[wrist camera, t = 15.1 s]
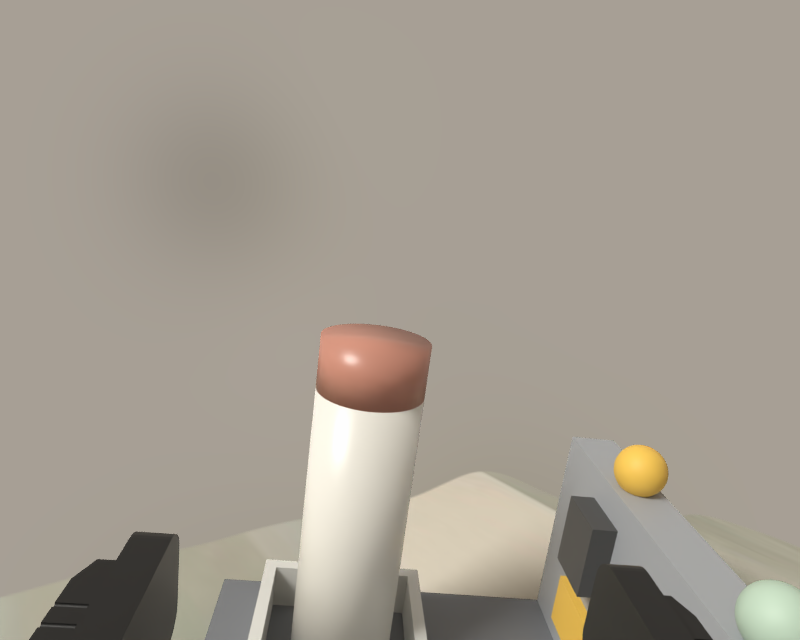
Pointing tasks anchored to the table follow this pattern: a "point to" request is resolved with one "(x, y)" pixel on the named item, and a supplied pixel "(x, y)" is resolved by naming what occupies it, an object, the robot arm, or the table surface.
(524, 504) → the table surface
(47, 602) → the table surface
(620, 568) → the robot arm
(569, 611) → the breaker board
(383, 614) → the plug
